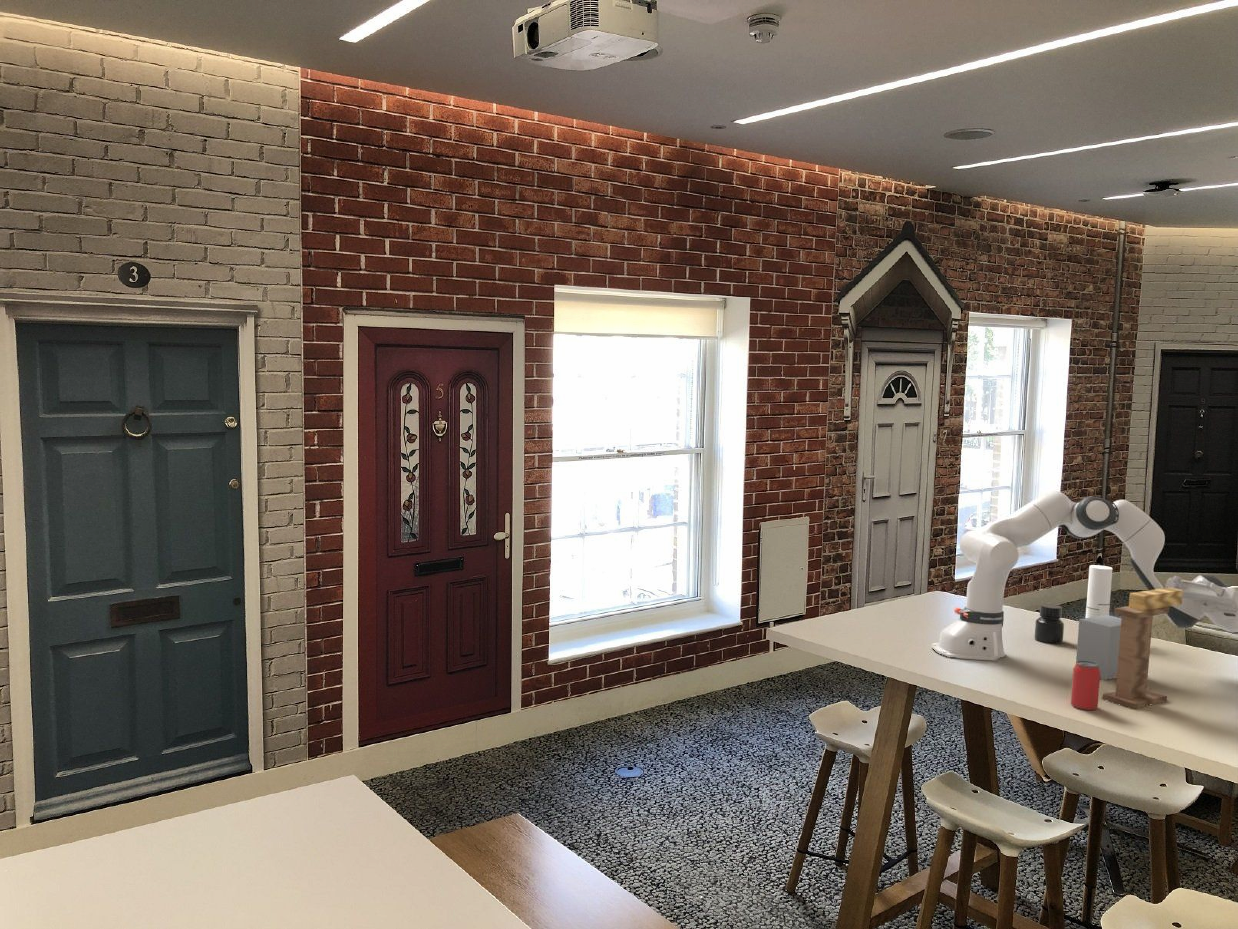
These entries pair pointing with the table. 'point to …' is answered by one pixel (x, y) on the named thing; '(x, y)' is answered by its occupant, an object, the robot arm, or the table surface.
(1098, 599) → the cylindrical container
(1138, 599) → the bar
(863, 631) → the table surface
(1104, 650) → the ledge block
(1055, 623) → the ink bottle
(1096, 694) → the beer can
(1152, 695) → the stand
